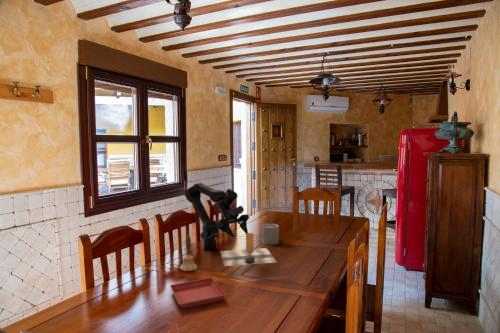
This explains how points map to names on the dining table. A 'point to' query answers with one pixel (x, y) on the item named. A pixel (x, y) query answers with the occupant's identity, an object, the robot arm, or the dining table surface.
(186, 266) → the hand bell
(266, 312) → the dining table surface
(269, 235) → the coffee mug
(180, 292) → the plant saucer
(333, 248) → the dining table surface
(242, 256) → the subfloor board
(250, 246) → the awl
